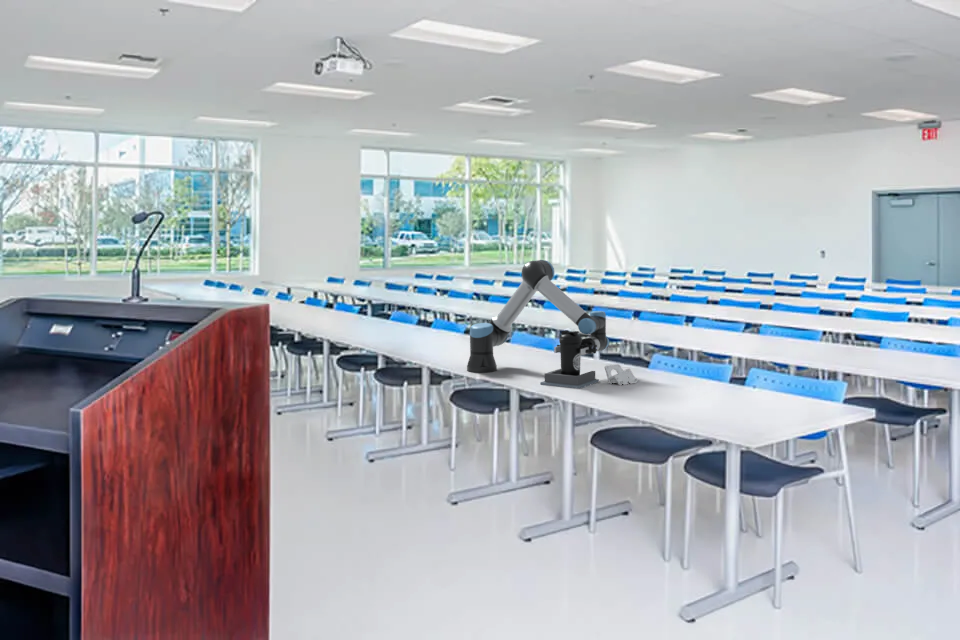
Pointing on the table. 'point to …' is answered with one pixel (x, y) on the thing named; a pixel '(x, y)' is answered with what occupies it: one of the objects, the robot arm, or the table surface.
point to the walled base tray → (569, 379)
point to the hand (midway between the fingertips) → (568, 351)
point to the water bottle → (570, 352)
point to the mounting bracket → (620, 375)
